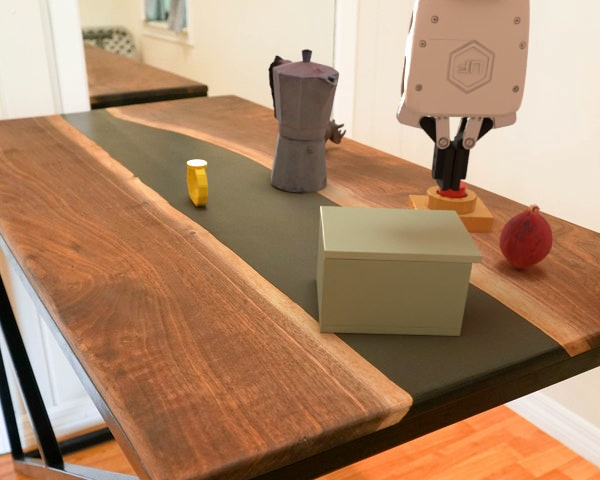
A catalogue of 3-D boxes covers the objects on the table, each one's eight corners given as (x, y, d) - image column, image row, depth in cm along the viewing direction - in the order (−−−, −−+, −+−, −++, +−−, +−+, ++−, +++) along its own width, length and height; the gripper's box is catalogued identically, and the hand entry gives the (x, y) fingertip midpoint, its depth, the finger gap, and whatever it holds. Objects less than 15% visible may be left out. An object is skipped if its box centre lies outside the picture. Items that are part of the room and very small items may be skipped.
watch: (182, 197, 95) (180, 156, 93) (201, 195, 96) (199, 155, 94) (194, 211, 91) (192, 169, 88) (213, 208, 92) (212, 167, 89)
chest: (437, 282, 74) (446, 217, 70) (460, 336, 64) (472, 263, 60) (316, 278, 74) (319, 213, 70) (319, 332, 63) (324, 259, 60)
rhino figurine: (353, 149, 121) (355, 116, 118) (295, 161, 113) (296, 126, 110) (338, 144, 124) (340, 112, 121) (280, 155, 116) (281, 121, 113)
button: (461, 191, 91) (463, 179, 90) (467, 200, 88) (469, 188, 87) (435, 191, 91) (437, 178, 90) (441, 200, 88) (442, 187, 87)
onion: (534, 285, 74) (550, 218, 70) (486, 270, 77) (498, 205, 73) (551, 268, 78) (567, 204, 74) (505, 255, 81) (518, 193, 77)
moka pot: (307, 203, 95) (313, 57, 85) (241, 176, 105) (240, 43, 95) (352, 190, 101) (363, 52, 91) (286, 166, 111) (289, 39, 101)
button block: (476, 211, 95) (481, 184, 93) (491, 232, 88) (496, 204, 86) (407, 209, 94) (410, 182, 92) (416, 230, 87) (420, 202, 85)
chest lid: (454, 217, 70) (455, 210, 70) (481, 263, 60) (483, 255, 60) (319, 212, 70) (320, 205, 69) (324, 258, 60) (324, 250, 59)
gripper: (389, -28, 50) (373, 199, 59) (582, -25, 51) (537, 201, 59) (378, -32, 57) (365, 173, 66) (549, -29, 57) (513, 175, 66)
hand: (447, 186), depth 63 cm, fingers closed
